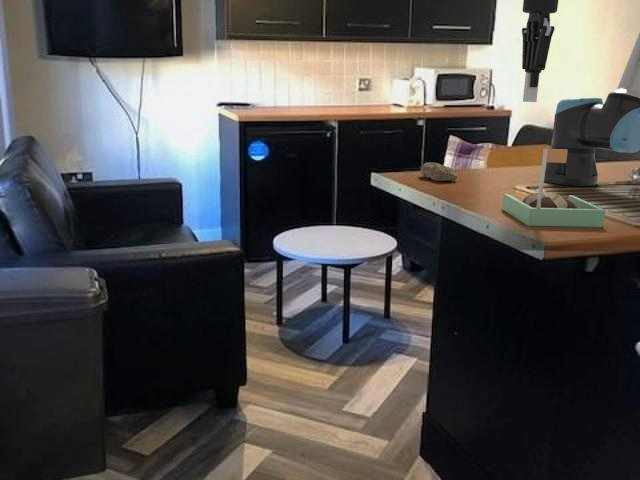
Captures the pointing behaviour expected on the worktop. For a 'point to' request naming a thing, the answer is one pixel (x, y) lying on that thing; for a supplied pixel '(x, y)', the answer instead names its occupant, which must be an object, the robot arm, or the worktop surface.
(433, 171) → the rock
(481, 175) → the worktop surface
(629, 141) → the robot arm
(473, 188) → the worktop surface
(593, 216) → the mint green tray
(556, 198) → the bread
